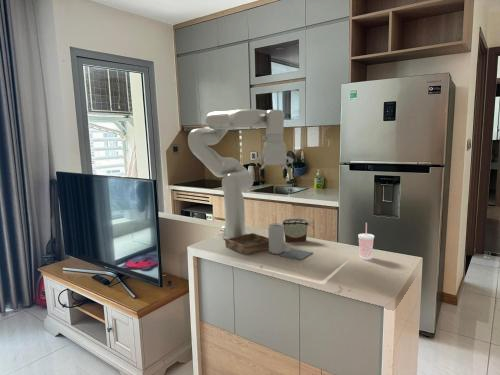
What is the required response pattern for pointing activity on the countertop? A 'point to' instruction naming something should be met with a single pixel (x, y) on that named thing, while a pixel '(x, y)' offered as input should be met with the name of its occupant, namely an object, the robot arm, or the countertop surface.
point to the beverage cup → (365, 245)
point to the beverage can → (276, 238)
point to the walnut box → (237, 246)
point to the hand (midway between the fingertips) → (273, 177)
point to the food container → (295, 230)
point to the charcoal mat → (296, 254)
